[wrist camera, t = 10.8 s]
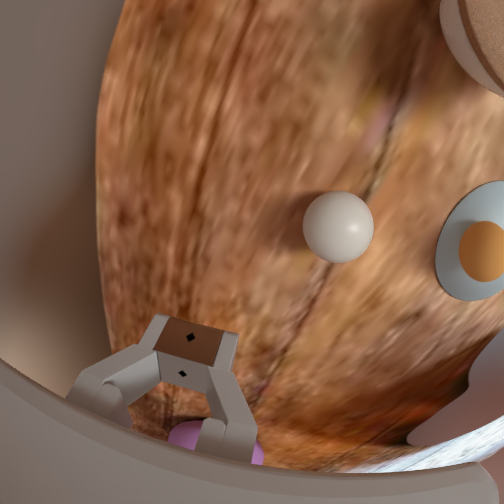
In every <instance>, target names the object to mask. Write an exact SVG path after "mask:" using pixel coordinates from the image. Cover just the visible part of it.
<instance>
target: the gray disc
mask: <svg viewBox="0 0 504 504" xmlns="http://www.w3.org/2000/svg"><path fill="white" fill-rule="evenodd" d="M479 221H491V222H493V223H496V224H497V225H499V226H500V227H501V228H502V229H503V230H504V181H493V182H489V183H486V184H484V185H482V186H479V187H477V188H476V189H474V190H473V191H471V192H470V193H469V194H468V195H467V196H465V197H464V198H463V199H462V200H461V201H460V202H459V203H458V205H457V206H456V207H455V208H454V210H453V211H452V212H451V214H450V216H449V217H448V219H447V220H446V222H445V224H444V226H443V228H442V231H441V234H440V236H439V239H438V243H437V247H436V254H435V267H436V273H437V277H438V279H439V281H440V283H441V285H442V287H443V288H444V289H445V290H446V292H447V293H449V294H450V295H451V296H453V297H455V298H457V299H460V300H465V301H476V300H481V299H485V298H488V297H490V296H493V295H494V294H496V293H498V292H500V291H501V290H503V289H504V273H503V274H502V275H501V276H500V277H499V278H497V279H496V280H493V281H490V282H479V281H476V280H474V279H472V278H471V277H470V276H468V275H467V273H466V272H465V271H464V269H463V268H462V265H461V263H460V259H459V243H460V240H461V237H462V235H463V233H464V232H465V231H466V229H467V228H468V227H469V226H471V225H472V224H474V223H476V222H479Z"/></svg>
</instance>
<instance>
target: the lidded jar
mask: <svg viewBox="0 0 504 504" xmlns="http://www.w3.org/2000/svg"><path fill="white" fill-rule="evenodd" d="M439 16H440V24H441V28H442V32H443V35H444V38H445V41H446V43H447V45H448V47H449V49H450V51H451V53H452V54H453V56H454V58H455V59H456V61H457V62H458V63H459V65H460V66H461V67H462V68H463V69H464V70H465V72H466V73H467V74H468V75H469V76H471V77H472V78H473V79H474V80H475V81H476V82H477V83H479V84H480V85H481V86H483V87H484V88H486V89H487V90H489V91H491V92H493V93H495V94H496V95H498V96H501V97H503V98H504V0H441V3H440V15H439Z"/></svg>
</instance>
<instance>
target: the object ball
mask: <svg viewBox="0 0 504 504" xmlns="http://www.w3.org/2000/svg"><path fill="white" fill-rule="evenodd" d="M459 259H460V263H461V265H462V268H463V269H464V271H465V272H466V273H467V275H468V276H470V277H471V278H472V279H474V280H476V281H479V282H490V281H493V280H496V279H497V278H499V277H500V276H501V275H502V274H503V273H504V230H503V229H502V228H501V227H500V226H499V225H497V224H496V223H493V222H491V221H479V222H476V223H474V224H472V225H471V226H469V227H468V228H467V229H466V231H465V232H464V233H463V235H462V237H461V240H460V243H459Z"/></svg>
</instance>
